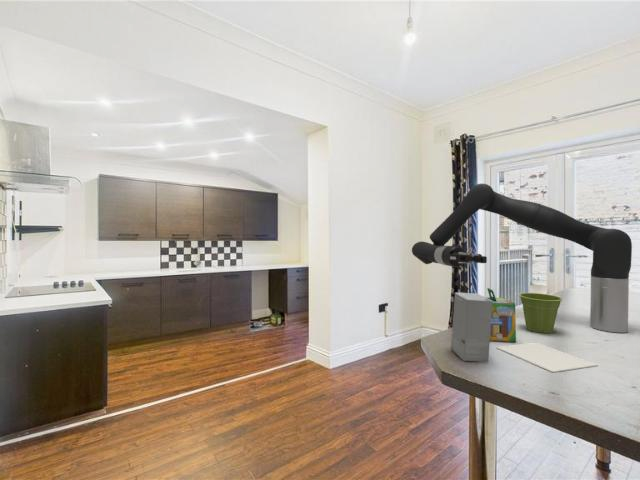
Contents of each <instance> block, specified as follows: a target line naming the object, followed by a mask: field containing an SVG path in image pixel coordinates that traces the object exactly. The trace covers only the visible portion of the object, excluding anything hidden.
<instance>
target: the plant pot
mask: <svg viewBox="0 0 640 480" xmlns="http://www.w3.org/2000/svg"><path fill="white" fill-rule="evenodd" d="M518 297H520V301H521V304H522V310H523V316H524V322H525V323H524V324H525V328H526V329H528V330H529V331H530V332H534V333H535V332H536V333H541V334H542V333H546V334H551V333H553V332H554V329H555V328H554V327H555V325H556V321H557V320H556V319H557V315H558V311H559V308H560V305H561V301H563V298H562V297H561V296H558V295H552V294H549V293H547V294H546V293H540V292H539V293H538V292H537V293H536V292H521V293H518Z"/></svg>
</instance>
